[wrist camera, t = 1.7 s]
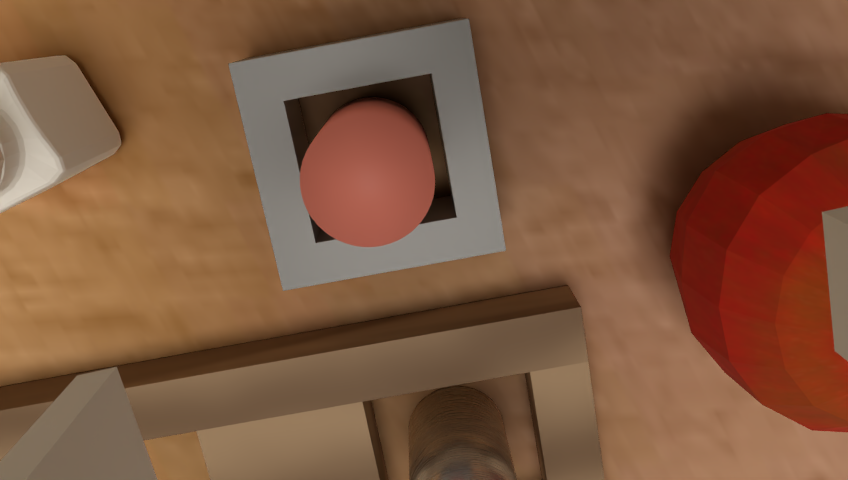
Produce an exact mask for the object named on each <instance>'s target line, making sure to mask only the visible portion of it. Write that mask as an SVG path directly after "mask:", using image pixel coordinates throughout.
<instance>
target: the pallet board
mask: <svg viewBox="0 0 848 480" xmlns="http://www.w3.org/2000/svg"><path fill="white" fill-rule="evenodd" d="M115 367H117V369H118V372H119V374H120V377H121V380H122V383H123V386H124V388H125V391H126V394H127V397H128V399H129V402H130V405H131V408H132V411H133V413H134V416H135V419H136V422H137V424H138V427H139V430H140V433H141V436H142V438H143V440H149V439H154V438H160V437H166V436H171V435H177V434H183V433H188V432H194V431H197V435H198V438H199V442H200V445H201V449H202V452H203V456H204V459H205V463H206V466H207V470H208V473H209V477H210V480H388V476H387V471H386V466H385V462H384V457H383V453H382V448H381V444H380V439H379V434H378V430H377V425H376V421H375V416H374V412H373V407H372V402H371V400H375V399H381V398H386V397H392V396H398V395H403V394H409V393H414V392H420V391H426V390H431V389H437V388H443V387H448V386H454V385H460V384H465V383H471V382H477V381H482V380H488V379H494V378H499V377H505V376H511V375H516V374H522V373H525V375H526V382H527V388H528V394H529V400H530V407H531V413H532V419H533V425H534V432H535V438H536V444H537V450H538V457H539V463H540V469H541V475H542V480H604V472H603V465H602V458H601V450H600V443H599V436H598V428H597V421H596V414H595V406H594V399H593V392H592V384H591V377H590V370H589V362H588V355H587V348H586V340H585V333H584V326H583V318H582V311H581V306H580V305H579V303H578V301H577V300H576V298H575V296H574V295H573V293H572V291H571V290H570V288H569V287H568V285H567V286H562V287H556V288H551V289H545V290H539V291H534V292H528V293H523V294H517V295H512V296H506V297H500V298H495V299H489V300H484V301H478V302H472V303H467V304H461V305H456V306H450V307H445V308H439V309H433V310H428V311H422V312H417V313H411V314H405V315H400V316H394V317H389V318H383V319H378V320H372V321H366V322H361V323H355V324H350V325H344V326H338V327H333V328H327V329H322V330H316V331H311V332H305V333H299V334H294V335H288V336H283V337H277V338H271V339H266V340H260V341H255V342H249V343H244V344H238V345H232V346H227V347H221V348H216V349H210V350H204V351H199V352H193V353H188V354H182V355H177V356H171V357H165V358H160V359H154V360H149V361H143V362H137V363H132V364H126V365H121V366H115ZM110 368H113V367H110ZM104 369H109V368H104ZM104 369H98V370H93V371H87V372H82V373H76V374H70V375H65V376H59V377H54V378H48V379H43V380H37V381H31V382H26V383H20V384H15V385H9V386H3V387H0V461H1V460H2V459H3V458H4V457H5V455H6V454H7V453H8V452H9V451H10V450H11V449H12V448H13V446H14V445H15V444H16V443H17V442H18V441H19V440H20V439H21V438H22V436H23V435H24V434H25V433H26V432H27V431H28V430H29V429H30V427H31V426H32V425H33V424H34V423H35V422H36V421H37V420H38V419H39V417H40V416H41V415H42V414H43V413H44V412H45V411H46V410H47V408H48V407H49V406H50V405H51V404H52V403H53V402H54V401H55V400H56V398H57V397H58V396H59V395H60V394H61V393H62V392H63V391H64V390H65V388H66V387H67V386H68V385H69V384H70V383H71V382H72V381H73V379H74V378H75V377H76V376H77V375H81V374H86V373H91V372H95V371H100V370H104Z"/></svg>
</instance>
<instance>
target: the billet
mask: <svg viewBox="0 0 848 480" xmlns="http://www.w3.org/2000/svg"><path fill="white" fill-rule="evenodd" d="M409 480H517V478H516V473H515V469H514V465H513V461H512V457H511V453H510V449H509V445H508V441H507V437H506V433H505V429H504V425H503V420H502V416H501V414H500V411H499V409H498V408H497V406H496V405H495V404H494V402H493V401H492V400H491V399H490V398H489V397H487V396H486V395H485V394H483V393H481V392H479V391H477V390H475V389H472V388H468V387H461V386H453V387H446V388H442V389H439V390H437V391H435V392H433V393H431V394H429V395H428V396H426V397H425V398H424V399H423V400H422V401H421V402H420V403H419V404H418V405H417V406H416V408H415V410H414V411H413V413H412V415H411V419H410V422H409Z"/></svg>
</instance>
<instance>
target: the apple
mask: <svg viewBox="0 0 848 480" xmlns="http://www.w3.org/2000/svg"><path fill="white" fill-rule="evenodd" d="M847 206H848V114H833V113H826V114H822V115H818V116H815V117H811V118H807V119H803V120H800V121H796V122H792V123H788V124H785V125H782V126H779V127H777V128H774V129H772V130H769V131H766V132H764V133H761V134H758V135H756V136H753V137H751V138H748V139H745V140H743V141H740V142H739V143H737V144H736V145H735V146H734V147H732V148H731V149H730V150H729V151H727V152H726V153H725V154H724V155H722V156H721V157H720V158H719V159H717V160H716V161H715V162H714V163H712V164H711V165H710V166H709V167H708V168H706V169H705V170H704V171H703V172H702V173H701V174H700V176H699V178H698V179H697V181H696V182H695V184H694V185H693V187H692V189H691V190H690V192H689V193H688V195H687V197H686V198H685V200H684V201H683V203H682V205H681V206H680V208H679V209H678V211H677V215H676V221H675V227H674V233H673V239H672V246H671V252H670V259H671V262H672V266H673V269H674V273H675V276H676V280H677V283H678V287H679V290H680V294H681V297H682V301H683V305H684V308H685V312H686V315H687V319H688V322H689V326H690V329H691V333H692V334H693V335H694V336H695V338H696V339H697V340H698V341H699V342H700V343H701V345H702V346H703V347H704V348H705V349H706V351H707V352H708V353H709V354H710V355H711V357H712V358H713V359H714V360H715V361H716V362H717V364H718V365H719V366H720V367H721V368H722V370H723V371H724V372H725V373H726V374H727V375H728V376H730V377H731V378H732V379H733V380H734V381H735V382H737V383H738V384H739V385H740V386H741V387H742V388H744V389H745V390H746V391H747V392H748V393H749V394H751V395H752V396H753V397H754V398H755V399H756V400H758V401H759V402H760V403H761V404H762V405H764V406H766V407H768V408H770V409H772V410H774V411H776V412H778V413H780V414H782V415H784V416H785V417H787V418H789V419H791V420H793V421H795V422H797V423H799V424H801V425H803V426H805V427H807V428H809V429H811V430H817V431H835V432H848V361H847V360H845V359H844V358H843V357H842V356H840V355H839V354H838V353H837V352H835V349H834V338H833V327H832V316H831V305H830V295H829V284H828V273H827V262H826V251H825V240H824V229H823V218H822V212H824V211H829V210H833V209H838V208H842V207H847Z"/></svg>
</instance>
